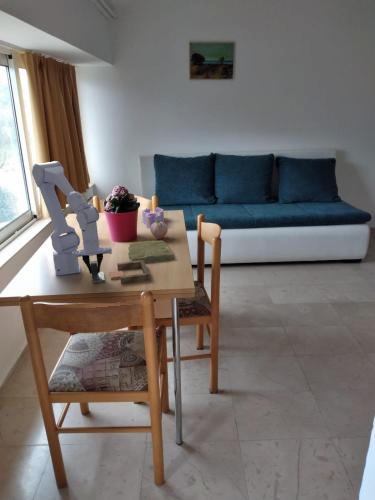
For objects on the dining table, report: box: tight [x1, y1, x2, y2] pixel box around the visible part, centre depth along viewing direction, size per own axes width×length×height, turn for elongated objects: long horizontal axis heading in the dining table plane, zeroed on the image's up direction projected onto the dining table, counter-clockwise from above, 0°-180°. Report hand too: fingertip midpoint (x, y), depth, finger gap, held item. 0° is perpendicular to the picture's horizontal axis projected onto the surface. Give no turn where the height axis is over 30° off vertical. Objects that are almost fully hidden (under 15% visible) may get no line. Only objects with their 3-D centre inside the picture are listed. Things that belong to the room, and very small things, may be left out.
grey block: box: [90, 260, 105, 284], centre depth 144 cm, size 4×8×7 cm, turn 15°
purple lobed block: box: [141, 206, 165, 229], centre depth 213 cm, size 20×12×7 cm, turn 6°
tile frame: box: [116, 260, 151, 285], centre depth 148 cm, size 11×15×2 cm
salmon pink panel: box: [109, 270, 125, 281], centre depth 146 cm, size 5×5×2 cm
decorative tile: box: [127, 239, 174, 264], centre depth 168 cm, size 19×20×4 cm
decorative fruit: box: [149, 220, 168, 240], centre depth 186 cm, size 9×8×10 cm
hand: (94, 272), depth 144 cm, fingers closed on grey block, 2 cm apart
